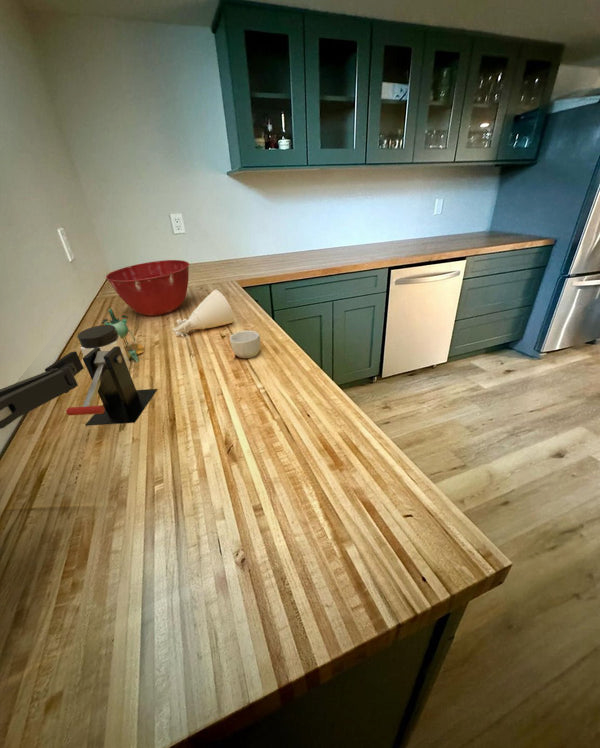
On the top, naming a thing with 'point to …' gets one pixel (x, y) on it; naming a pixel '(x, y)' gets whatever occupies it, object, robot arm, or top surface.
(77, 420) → the top surface
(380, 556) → the top surface
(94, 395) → the lever
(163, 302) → the mixing bowl
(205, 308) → the rocket engine
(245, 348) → the teacup
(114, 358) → the bracket
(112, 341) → the jar
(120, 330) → the frog figurine
